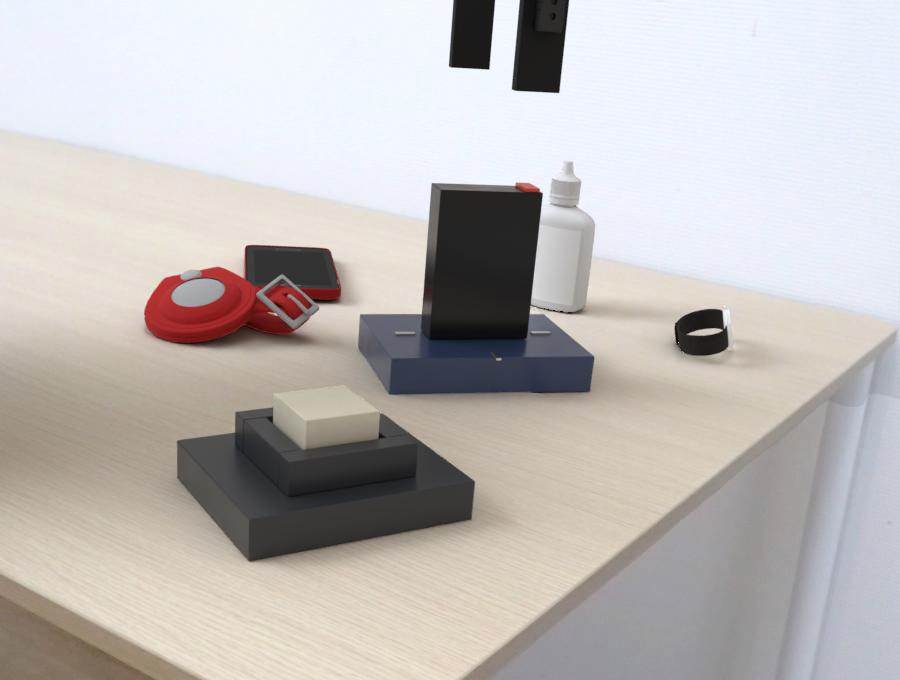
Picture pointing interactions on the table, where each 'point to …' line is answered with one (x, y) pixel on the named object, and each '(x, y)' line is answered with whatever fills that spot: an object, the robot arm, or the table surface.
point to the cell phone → (294, 269)
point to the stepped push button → (318, 487)
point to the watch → (707, 342)
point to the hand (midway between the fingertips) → (499, 79)
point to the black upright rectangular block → (480, 260)
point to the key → (325, 417)
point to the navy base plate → (472, 359)
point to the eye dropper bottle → (563, 247)
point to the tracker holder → (223, 306)
